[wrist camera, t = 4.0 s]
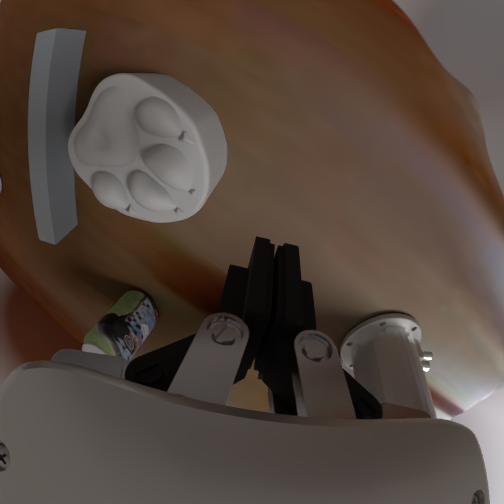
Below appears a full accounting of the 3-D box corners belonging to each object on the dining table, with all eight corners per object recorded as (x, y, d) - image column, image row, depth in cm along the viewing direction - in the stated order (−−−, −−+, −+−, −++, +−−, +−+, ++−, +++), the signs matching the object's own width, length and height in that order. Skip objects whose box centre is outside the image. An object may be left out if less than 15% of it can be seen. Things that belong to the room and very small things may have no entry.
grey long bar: (86, 31, 19) (56, 27, 15) (77, 224, 32) (55, 244, 28) (66, 34, 19) (37, 33, 14) (61, 220, 32) (39, 239, 27)
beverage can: (151, 324, 40) (121, 390, 30) (111, 296, 38) (72, 358, 28) (170, 304, 37) (139, 377, 27) (126, 272, 35) (82, 339, 25)
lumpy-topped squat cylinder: (153, 60, 21) (103, 55, 14) (254, 143, 25) (242, 169, 18) (99, 140, 26) (47, 165, 19) (187, 215, 30) (156, 261, 23)
